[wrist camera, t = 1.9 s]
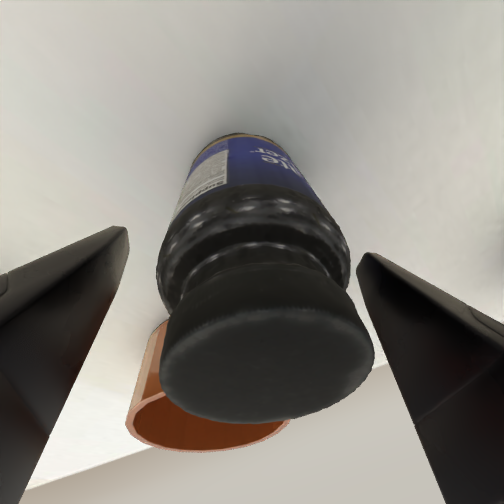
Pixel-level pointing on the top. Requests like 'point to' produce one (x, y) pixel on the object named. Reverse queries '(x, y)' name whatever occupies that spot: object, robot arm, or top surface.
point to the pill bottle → (256, 292)
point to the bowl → (182, 415)
